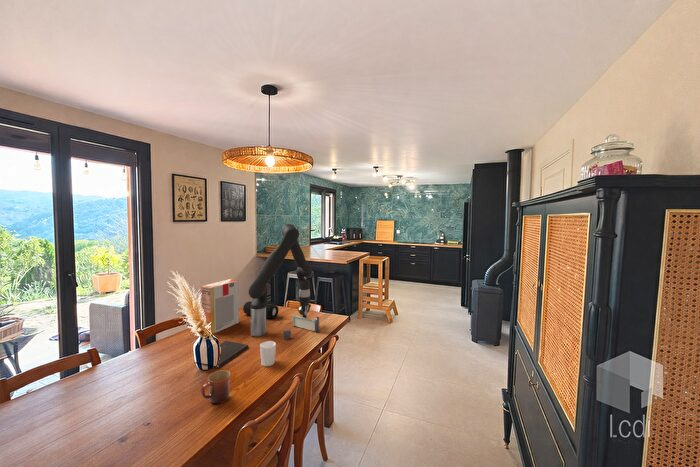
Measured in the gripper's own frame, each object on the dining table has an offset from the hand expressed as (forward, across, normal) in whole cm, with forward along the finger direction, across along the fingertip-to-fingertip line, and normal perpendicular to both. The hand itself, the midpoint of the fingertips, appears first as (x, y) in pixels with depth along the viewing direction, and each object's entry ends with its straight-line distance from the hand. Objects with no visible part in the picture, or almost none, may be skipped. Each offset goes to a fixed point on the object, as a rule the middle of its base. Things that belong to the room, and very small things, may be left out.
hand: (304, 319), depth 197 cm
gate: (+4, -3, -2) cm, 6 cm away
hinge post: (+5, -4, -12) cm, 14 cm away
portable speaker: (+5, +1, +40) cm, 40 cm away
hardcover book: (+4, -53, +17) cm, 56 cm away
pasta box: (+4, -27, +48) cm, 56 cm away
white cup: (+4, -49, -11) cm, 50 cm away
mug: (+3, -82, -13) cm, 83 cm away
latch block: (+4, -21, -1) cm, 21 cm away
